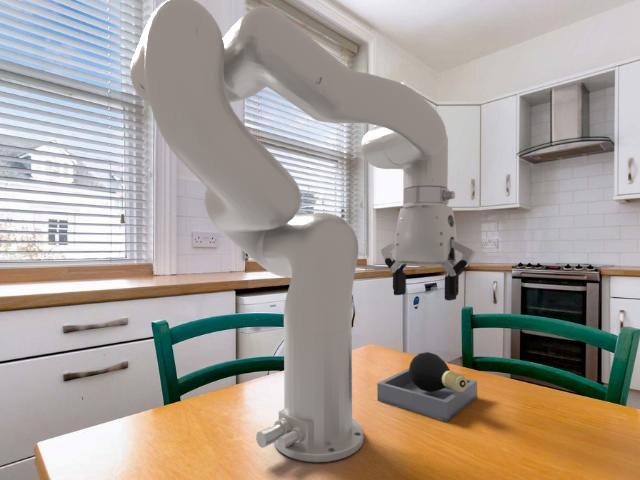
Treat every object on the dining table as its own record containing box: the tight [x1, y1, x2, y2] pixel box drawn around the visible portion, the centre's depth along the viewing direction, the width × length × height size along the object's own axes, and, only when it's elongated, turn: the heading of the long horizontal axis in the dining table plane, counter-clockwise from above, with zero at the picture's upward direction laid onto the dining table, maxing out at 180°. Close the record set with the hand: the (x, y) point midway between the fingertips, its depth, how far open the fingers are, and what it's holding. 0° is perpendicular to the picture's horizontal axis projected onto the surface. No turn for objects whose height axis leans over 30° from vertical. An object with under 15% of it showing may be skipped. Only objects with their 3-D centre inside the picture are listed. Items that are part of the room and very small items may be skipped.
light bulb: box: [409, 351, 468, 392], centre depth 66 cm, size 7×7×12 cm
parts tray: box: [376, 368, 478, 423], centre depth 67 cm, size 13×13×3 cm
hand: (423, 297), depth 67 cm, fingers open, 9 cm apart
